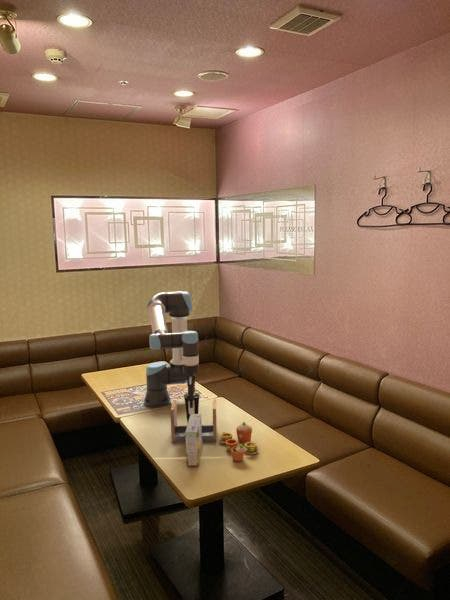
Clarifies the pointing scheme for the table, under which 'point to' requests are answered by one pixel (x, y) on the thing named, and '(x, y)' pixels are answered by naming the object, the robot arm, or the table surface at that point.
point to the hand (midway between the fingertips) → (192, 411)
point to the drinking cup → (196, 404)
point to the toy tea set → (243, 437)
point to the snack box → (193, 440)
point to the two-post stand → (179, 431)
